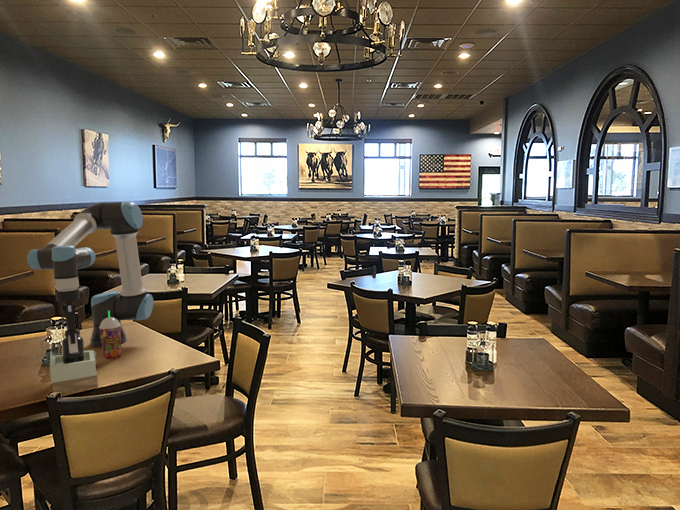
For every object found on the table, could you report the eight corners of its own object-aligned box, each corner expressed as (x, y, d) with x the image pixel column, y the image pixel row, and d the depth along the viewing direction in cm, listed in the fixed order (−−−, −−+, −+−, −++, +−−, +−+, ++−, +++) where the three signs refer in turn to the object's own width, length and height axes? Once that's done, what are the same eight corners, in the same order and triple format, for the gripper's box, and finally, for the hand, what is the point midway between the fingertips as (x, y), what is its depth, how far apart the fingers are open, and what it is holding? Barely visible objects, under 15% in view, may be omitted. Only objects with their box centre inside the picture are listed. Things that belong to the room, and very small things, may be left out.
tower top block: (52, 370, 190) (50, 356, 189) (94, 364, 197) (93, 350, 196) (51, 383, 178) (49, 367, 177) (96, 375, 184) (95, 360, 184)
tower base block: (53, 384, 191) (51, 370, 190) (95, 376, 197) (94, 363, 197) (53, 396, 179) (52, 382, 178) (98, 388, 185) (97, 374, 185)
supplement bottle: (75, 366, 183) (73, 333, 182) (58, 365, 185) (56, 332, 183) (88, 360, 190) (86, 328, 188) (72, 358, 191) (70, 327, 190)
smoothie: (105, 362, 213) (101, 314, 210) (99, 357, 219) (95, 311, 216) (126, 357, 218) (122, 310, 215) (119, 352, 224) (115, 307, 222)
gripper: (54, 285, 193) (60, 340, 196) (56, 296, 172) (62, 358, 174) (77, 283, 197) (82, 337, 199) (81, 293, 175) (87, 354, 178)
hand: (72, 347), depth 187 cm, fingers open, 13 cm apart
